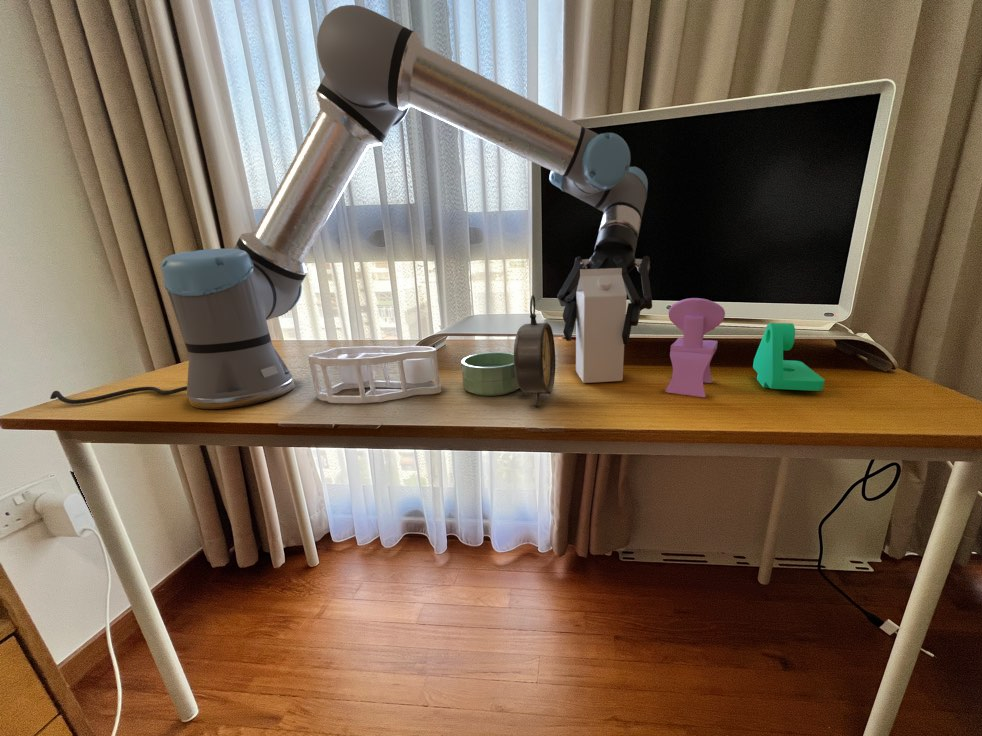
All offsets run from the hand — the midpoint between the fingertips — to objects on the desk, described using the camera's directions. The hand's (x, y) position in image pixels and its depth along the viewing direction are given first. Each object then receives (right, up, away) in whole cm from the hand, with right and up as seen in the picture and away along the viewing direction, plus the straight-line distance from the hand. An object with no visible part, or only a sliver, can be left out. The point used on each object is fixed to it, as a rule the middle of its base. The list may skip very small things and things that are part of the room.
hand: (595, 338), depth 73 cm
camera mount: (+32, -8, -1) cm, 33 cm away
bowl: (-18, -8, +1) cm, 20 cm away
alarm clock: (-10, -10, -4) cm, 15 cm away
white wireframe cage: (-36, -9, 0) cm, 37 cm away
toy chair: (+16, -9, -1) cm, 18 cm away
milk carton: (+1, -6, +6) cm, 9 cm away
